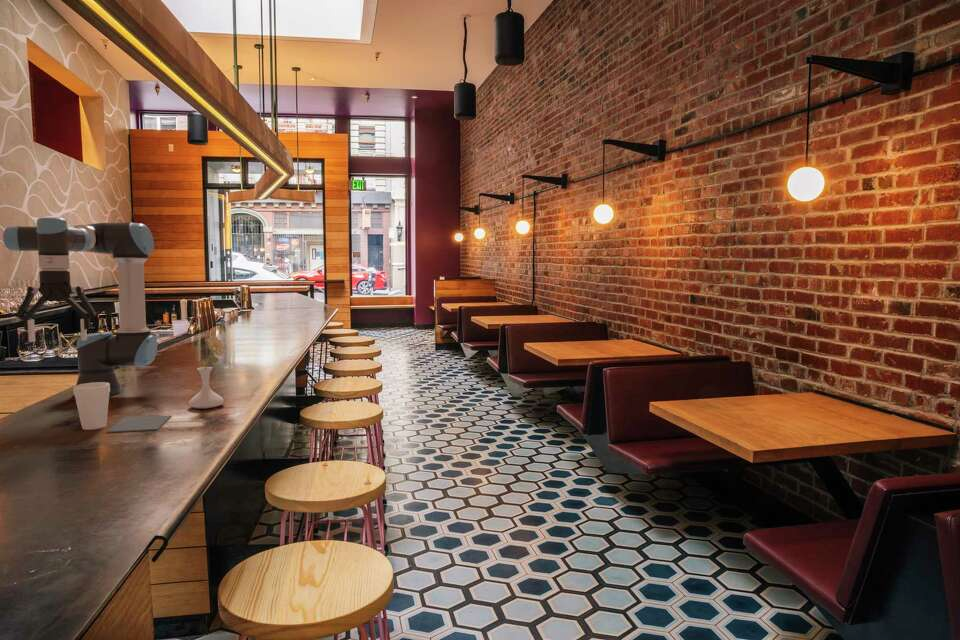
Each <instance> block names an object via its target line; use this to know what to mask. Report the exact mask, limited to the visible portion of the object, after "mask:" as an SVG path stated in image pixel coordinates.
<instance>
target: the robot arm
mask: <svg viewBox="0 0 960 640" xmlns="http://www.w3.org/2000/svg"><path fill="white" fill-rule="evenodd" d="M2 239H3V240H2V241H3V244H4V246H5V247H6V248H7V249H8V250H9V251H12V252H13V251H15V252H16V251H19V252H38V254H37V255H38V257H37V258H38V269H40V271H39V272H38V274H39V286H38V287H36V286H33V285H32V286H27V288H26V295H25V297H24V299H23V301H22V303H21V305H20V307H19V308H18V311H17V312H16V313H15V317H16V319H22V320H23V325H24V326H23V328H24V329H23V330H24V331H27V335H28V337H27V338H28V343H33V342H36V330H35V329H36V327H35V319H32V318H33V317H34V315H35V314H36V313H37V312H38V311H39V310H40V309H41V308H42V307H43V306H44V305H45V304H46V303H47V302H64V301H65V303H67V304H68V305H69V306H71V308H72V309H74V311H75V312H77V314H78V315H80V316H81V318H80V319H79V320H80V322H79V323H80V336H79V337H78V338H77V340H76V353H77V367H78V377H77V380H76V383H75V386H76V385H80V384H85V383H94V382H106V383H109V384H110V392H109V396H113V395H118V394H120V393H122V385H121V382H120V380H119V379H118V376H117V374H116V370H115V367H142V366H143V367H144V366H149V365H150V364H151V363H152V362H153V361H154V360H155V359H156V355H157V353H158V346H159V345H158V338H157V337H156V336H155V335H153V334H152V332H151V331H152V330H151V329H150V328H149V327H148V326H147V319H146V318H147V316H146V315H147V314H146V293H145V292H146V288H145V286H146V285H145V263H146V262H147V261H148V260H149V255H151V254H153V252H154V249H155V242H154V237H153V234H152V232H151V230H150V228H149V227H148V226H147V225H145V224H144V223H139V222H98V223H96V222H95V223H89V224H76V225H74V226H68V222H67V220H66V219H65V218H61V217H39V218H37V220H36V226H20V225H17V226H8V227H6V228H5V229H4V231H3V233H2ZM69 252H74V253H76V252H77V253H79V252H81V253H82V252H84V253H85V252H87V253H95V254H103V255H105V254H106V255H107V254H108V255H112V259H113V260H114V262H116V264H117V279H118V280H117V281H118V284H117V285H118V303H119V304H118V305H119V328H117V329H116V330H115V335H114V333H113V332H112V331H104V332H103V331H102V332H97V333H96V332H95V333H89V334H88V333H87V331H88V330H89V329H90V328H91V319H92V318H93V317H96V316H97V312H96V310H95V308H94V307H93V305H92V304H91V302H90V301H89V298H88V297H87V296H86V294H85V291H84V287H83V286H82V285H79V286H78V285H77V286H73V287H72V285H71V273H70V271H69V269H70V268H71V267H70V255H69ZM72 292H74V294H76V295H77V297H78V299H79V300H80V302H81V304H82V305H83V307H84V308H85V309H84V308H83V307H82V306H81V305H80V304H79V303H78V302H77V301H76V300H75V299H74V298H73V297H72V296H71V293H72ZM38 293H40V295H41V297H40V298H38V300H37V301H36V303H35V304H33V306H32V307H31V308H30V305H31V303H32V301H33V299H34V297H35V295H36V294H38ZM29 308H30V309H29ZM28 309H29V310H28Z"/></svg>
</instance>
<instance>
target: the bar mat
mask: <svg viewBox="0 0 960 640" xmlns="http://www.w3.org/2000/svg"><path fill="white" fill-rule="evenodd" d="M171 418H172V415H171V414H170V415H156V416H155V415H154V416H136V417H135V416H132V417H123V418H122V419H121V420H120V421H118V422H117V423H116V424H114V425H113V426H112V427H110V428H109V429H108V430H106V432H105V433H106V434H111V433H113V434H114V433H130V432H131V433H133V432H145V431H146V432H147V431H148V432H149V431H159V430H160V428H161V427H162V426H163V425H165V424H166V423H167V422H168V421H169V420H170V419H171Z"/></svg>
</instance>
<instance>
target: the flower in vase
mask: <svg viewBox="0 0 960 640" xmlns="http://www.w3.org/2000/svg"><path fill="white" fill-rule="evenodd" d="M206 340H207V341H206V343H207V347H208V350H210V353H209V355H208V359H207V360H204V359H201V358H199V363H200V364H201V365H202V364H204V365H205V366H200V367H197V368H196V370H197V371H198V372H199V375H200V377H201V389H200V390H199V392H198V393H196V394H195V395H194V396H193V397H191V399H190V400H189V401H188V404H187V405H188V406H189V407H191V408H193V409H211V408H216V407H219V406H221V405H222V404H224V402H225V400H224V398H223V397H222V396H221V395H219V394H218V393H216V392H214V390H212V389H211V387H210V375H211V371H212V370H213V368H214V367H212V366H208V365H209V361H210V362H211V363H213V364H216V363H218V362H219V361H220V360H219V358H218V357H216V356H223V354H225V352H226V351H225V348H226V347H225V345H224V343H223V342H222V340H221V339H219V337H218V336H216V335H211V334H210V336H208V338H207V339H206ZM212 354H213V355H216V356H213V355H212Z"/></svg>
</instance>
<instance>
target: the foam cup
mask: <svg viewBox="0 0 960 640" xmlns="http://www.w3.org/2000/svg"><path fill="white" fill-rule="evenodd" d="M72 389H73V395H74V397H75V398H74V399H75V403H76V406H77V411H78V416H79V421H80V424H81V429H82V430H87V431H88V430H98V429H102V428H103V429H104V428H105V427H106V426H107V423H108V422H107V421H108V414H109V413H108V410H109V401H110V395H109V392H110V384H109V383H106V382H94V383H85V384H80V385H76V384H75V385H74V386H73V387H72Z"/></svg>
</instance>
